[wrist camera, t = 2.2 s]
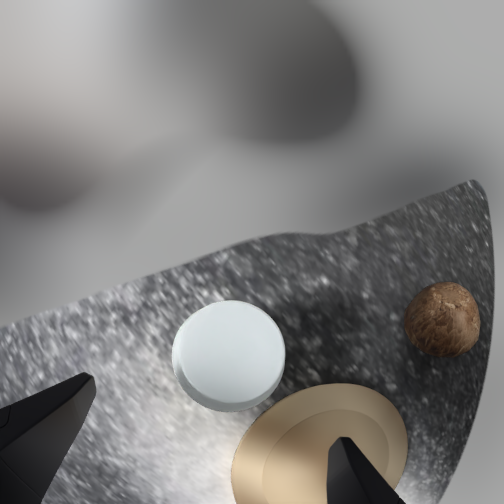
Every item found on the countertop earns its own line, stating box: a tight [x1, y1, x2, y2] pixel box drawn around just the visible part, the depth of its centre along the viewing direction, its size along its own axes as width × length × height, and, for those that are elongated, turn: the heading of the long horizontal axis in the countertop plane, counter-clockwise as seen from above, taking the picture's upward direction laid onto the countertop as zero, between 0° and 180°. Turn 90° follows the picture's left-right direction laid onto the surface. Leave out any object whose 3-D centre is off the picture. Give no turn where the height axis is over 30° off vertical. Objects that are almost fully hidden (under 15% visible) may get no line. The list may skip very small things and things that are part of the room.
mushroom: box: [404, 282, 480, 357], centre depth 19 cm, size 8×8×6 cm
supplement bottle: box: [172, 300, 285, 412], centre depth 14 cm, size 5×5×10 cm
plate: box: [231, 383, 408, 504], centre depth 14 cm, size 14×14×1 cm
